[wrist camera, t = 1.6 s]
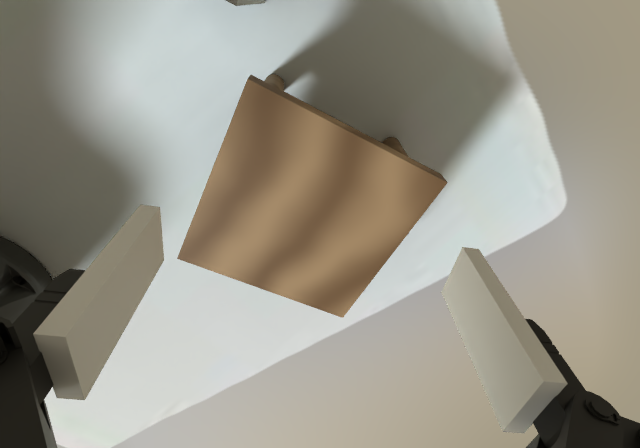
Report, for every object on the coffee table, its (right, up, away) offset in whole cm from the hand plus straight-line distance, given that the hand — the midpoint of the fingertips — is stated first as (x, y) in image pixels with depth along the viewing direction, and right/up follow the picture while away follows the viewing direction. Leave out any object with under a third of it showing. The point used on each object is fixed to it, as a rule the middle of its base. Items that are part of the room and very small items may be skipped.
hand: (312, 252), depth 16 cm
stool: (-1, +7, +21) cm, 22 cm away
